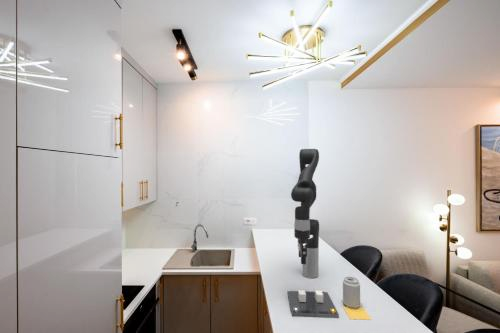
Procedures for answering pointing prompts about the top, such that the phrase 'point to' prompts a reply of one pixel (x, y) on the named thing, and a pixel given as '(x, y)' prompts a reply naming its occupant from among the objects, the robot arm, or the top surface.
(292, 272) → the top surface
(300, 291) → the block
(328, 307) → the panel
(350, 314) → the pad
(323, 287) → the top surface
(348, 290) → the can
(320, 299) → the block
